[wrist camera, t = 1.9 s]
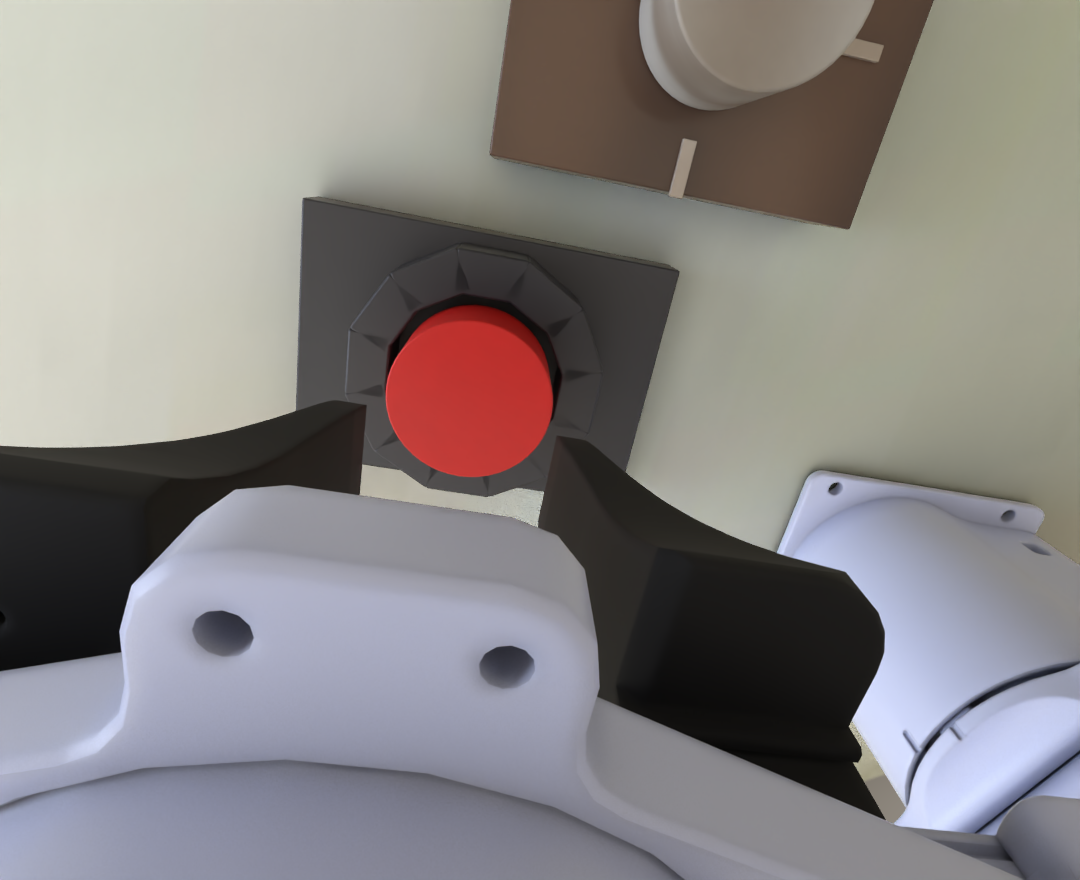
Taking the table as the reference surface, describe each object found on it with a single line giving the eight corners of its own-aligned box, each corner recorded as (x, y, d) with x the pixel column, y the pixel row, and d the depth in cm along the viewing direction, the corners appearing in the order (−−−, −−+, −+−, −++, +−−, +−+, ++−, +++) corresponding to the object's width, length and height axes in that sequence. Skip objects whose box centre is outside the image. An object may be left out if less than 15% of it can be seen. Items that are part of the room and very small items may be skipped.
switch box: (669, 265, 19) (694, 278, 16) (611, 484, 22) (624, 527, 19) (317, 196, 18) (281, 199, 15) (307, 438, 21) (276, 476, 18)
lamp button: (562, 319, 17) (568, 336, 15) (534, 457, 19) (536, 488, 17) (407, 291, 17) (393, 305, 15) (392, 435, 18) (378, 464, 16)
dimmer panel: (919, -100, 16) (994, -151, 13) (808, 227, 19) (851, 234, 16) (544, -204, 15) (549, -280, 12) (492, 161, 18) (488, 159, 15)
